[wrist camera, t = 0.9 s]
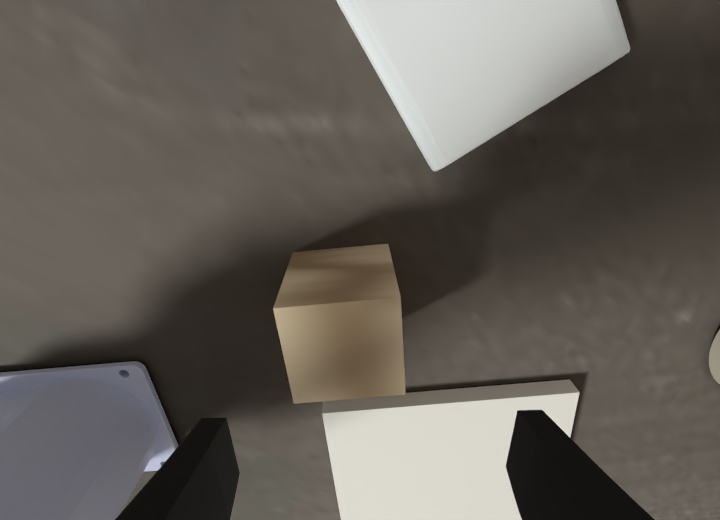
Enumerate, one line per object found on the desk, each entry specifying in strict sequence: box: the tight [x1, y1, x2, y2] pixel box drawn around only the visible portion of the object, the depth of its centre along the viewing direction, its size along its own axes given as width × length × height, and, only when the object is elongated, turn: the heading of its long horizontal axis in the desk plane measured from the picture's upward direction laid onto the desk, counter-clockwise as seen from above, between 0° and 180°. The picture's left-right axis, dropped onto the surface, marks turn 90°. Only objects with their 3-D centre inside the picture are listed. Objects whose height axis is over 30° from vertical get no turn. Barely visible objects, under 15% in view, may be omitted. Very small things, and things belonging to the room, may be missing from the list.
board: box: [322, 379, 580, 520], centre depth 24 cm, size 14×14×1 cm
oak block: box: [273, 244, 406, 404], centre depth 16 cm, size 4×4×5 cm
